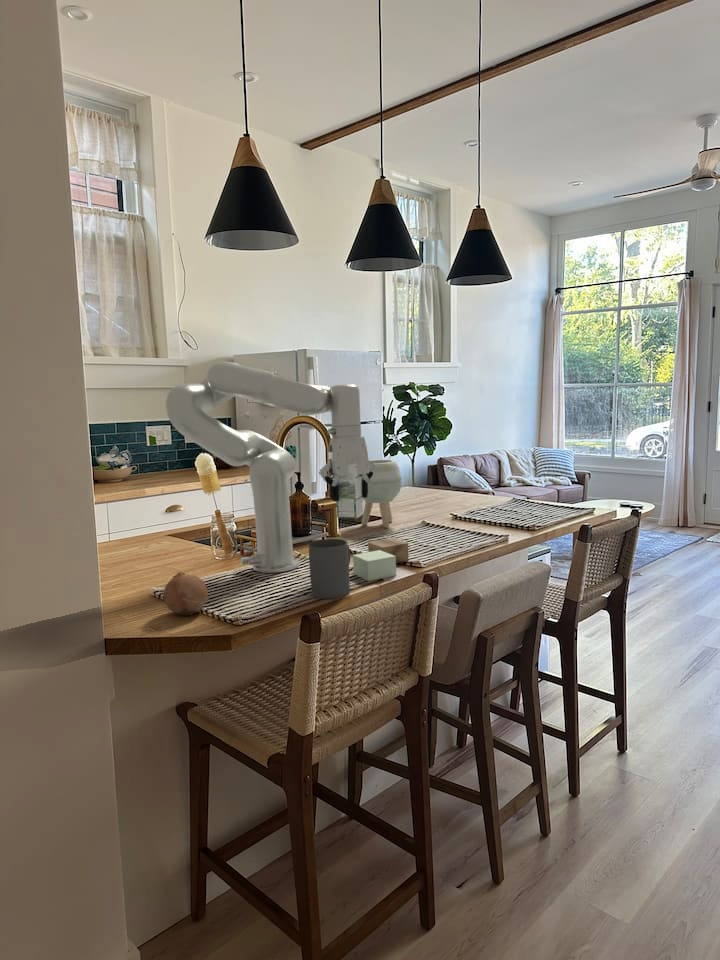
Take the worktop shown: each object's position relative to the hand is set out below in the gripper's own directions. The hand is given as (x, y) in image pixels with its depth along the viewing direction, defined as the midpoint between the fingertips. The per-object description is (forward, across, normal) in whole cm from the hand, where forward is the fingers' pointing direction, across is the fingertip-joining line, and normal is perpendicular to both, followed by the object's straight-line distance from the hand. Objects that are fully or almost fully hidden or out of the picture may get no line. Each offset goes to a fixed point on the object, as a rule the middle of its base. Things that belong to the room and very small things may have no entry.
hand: (349, 498), depth 173 cm
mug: (+19, -13, -16) cm, 28 cm away
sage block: (+19, +1, -10) cm, 21 cm away
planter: (+19, +33, +43) cm, 57 cm away
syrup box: (+5, 0, 0) cm, 5 cm away
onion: (+19, -47, -11) cm, 52 cm away
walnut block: (+19, +11, 0) cm, 22 cm away
